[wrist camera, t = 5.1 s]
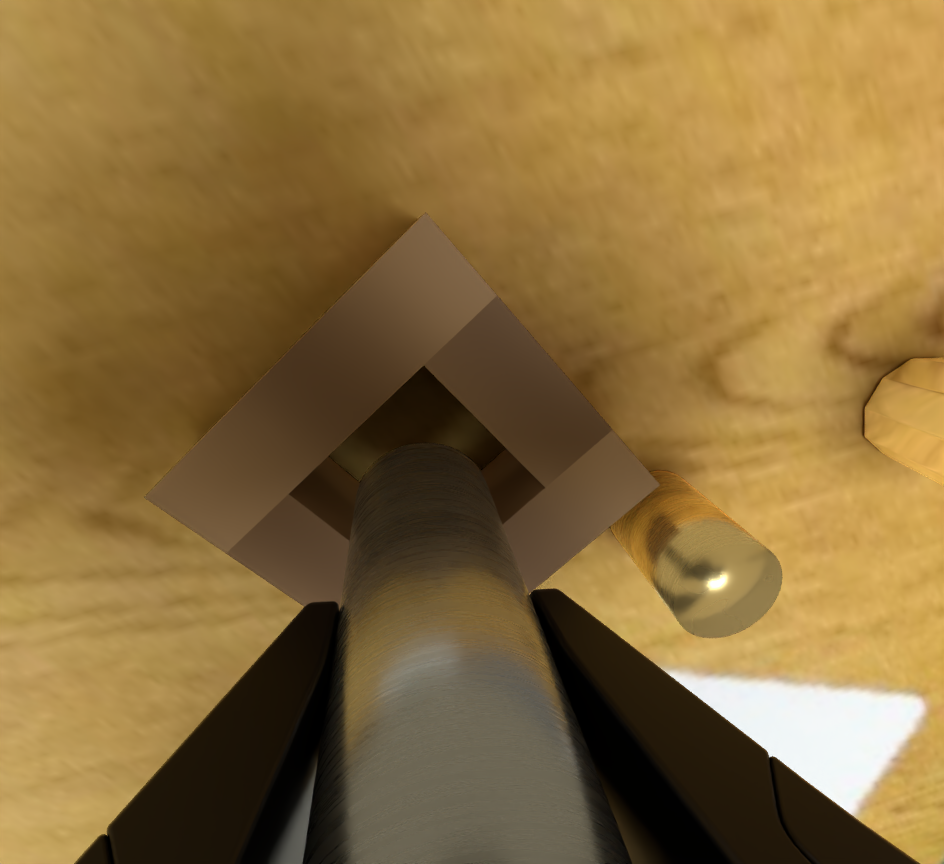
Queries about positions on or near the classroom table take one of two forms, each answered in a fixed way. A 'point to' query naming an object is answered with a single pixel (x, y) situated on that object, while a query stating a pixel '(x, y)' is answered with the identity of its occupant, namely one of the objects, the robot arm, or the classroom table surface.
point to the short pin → (699, 559)
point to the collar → (367, 388)
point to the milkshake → (910, 416)
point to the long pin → (447, 691)
